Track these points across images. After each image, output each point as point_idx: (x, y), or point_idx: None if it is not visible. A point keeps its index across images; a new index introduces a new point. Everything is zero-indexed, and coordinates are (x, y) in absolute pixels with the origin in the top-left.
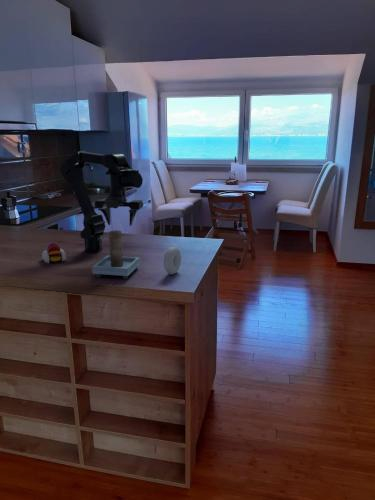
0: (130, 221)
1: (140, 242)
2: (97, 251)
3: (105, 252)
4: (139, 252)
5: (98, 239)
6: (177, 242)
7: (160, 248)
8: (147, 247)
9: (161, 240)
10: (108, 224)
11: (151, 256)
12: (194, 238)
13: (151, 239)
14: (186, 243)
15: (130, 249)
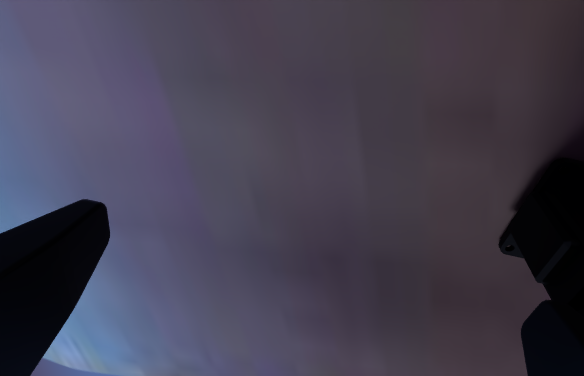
0: (3, 246)
1: (261, 328)
2: (556, 166)
3: (481, 166)
4: (216, 151)
5: (580, 263)
6: None
7: None
8: (194, 246)
9: (158, 342)
10: (570, 307)
11: (92, 47)
12: None
13: (215, 360)
14: None
15: (295, 218)
